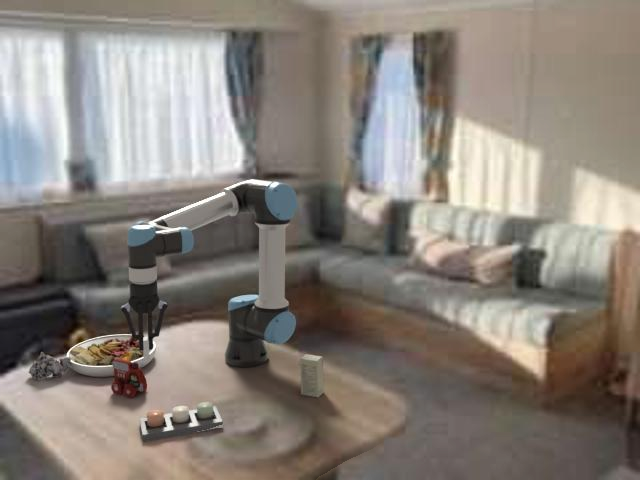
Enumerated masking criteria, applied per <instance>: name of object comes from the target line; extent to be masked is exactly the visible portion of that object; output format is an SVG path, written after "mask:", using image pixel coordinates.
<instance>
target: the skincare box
mask: <svg viewBox="0 0 640 480" xmlns="http://www.w3.org/2000/svg"><path fill="white" fill-rule="evenodd" d="M299 367H300V368H299V369H300V393H301V395H303V396H308V397H313V398H320V397H321V396H322V395H323V393H324V392H325V386H324V382H325V381H324V358H323V356H321V355H316V354H308V353H305V354H303V356H301V357H300V358H299Z"/></svg>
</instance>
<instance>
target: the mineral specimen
mask: <svg viewBox="0 0 640 480" xmlns="http://www.w3.org/2000/svg"><path fill="white" fill-rule="evenodd" d="M71 359H72V358H70V357H67V356H66V357H64V358H59V360H57V359H55V358H54V356H50V355H49V354H45V352H43V351H41V352H40V355H39V356H38V357H37V360H33V361H32V365H31V366H30V368H29V370H28V374H29V375H30V377H31V378H32V379H34V380H36V381H39V382H40V381H46V380H47V379H48V378H49V377H50V376H51V377H53V378H56V377H57V378H61V377H62V376H63V374H64V373H66V372H67V371H68V369H69V368H70V366H69V363H70V361H71Z"/></svg>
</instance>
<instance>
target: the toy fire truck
mask: <svg viewBox="0 0 640 480" xmlns="http://www.w3.org/2000/svg"><path fill="white" fill-rule="evenodd" d="M112 365H113V368H114V376H113V378H114V380H113V382H112V384H111V386H110V388H111V391H112V393H113V394H114V395H117V396H118V395H121V394H122V393H124V396H125V397H126V398H127V399H128V398H130V399H132V398H133V397H135V396H136V393H137V392H141V393H143V392H145V391H147V389H148V383H147V378H146V377H145V373H144V372H143V369H142V368H138V367H139V365H138V363H137V362H134V363H132V362H130V361H126V360H121V359H115V360H113V362H112Z"/></svg>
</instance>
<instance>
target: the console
mask: <svg viewBox="0 0 640 480" xmlns="http://www.w3.org/2000/svg"><path fill="white" fill-rule="evenodd" d="M213 414H214V416H215V418H216V419H214V418H211V419H207V420H202V421H198V418H199V417H198V416H197V408H196V409H195V408H194V409H189V419H188V420H187V421H186V422H188V421H189V423H182V424H178V425H177V424H176V423H177V422H174V421H173V419H172V412H169V413H164V423H163V424H162V425H164V426H165V427H159V428H154V429H147V428H150V427H151V426H148V425H147V416H146V417H140V418H139V426H140V432H141V438H142V442H149V441H154V440H161V439H165V438H172V437H177V436H183V435H191V434H195V433H194V432H196V433H198V432H197V431H202V430H207V429H210V428H213V427H216V426H219V425H222V424H224V423H223V422H224V421H223V419H222V416H221V415H220V412H219V410H218V408H217V406H216V405H213ZM214 416H213V417H214ZM173 423H175V424H176V425H172V424H173ZM162 425H161V426H162ZM202 432H203V431H202Z"/></svg>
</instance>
